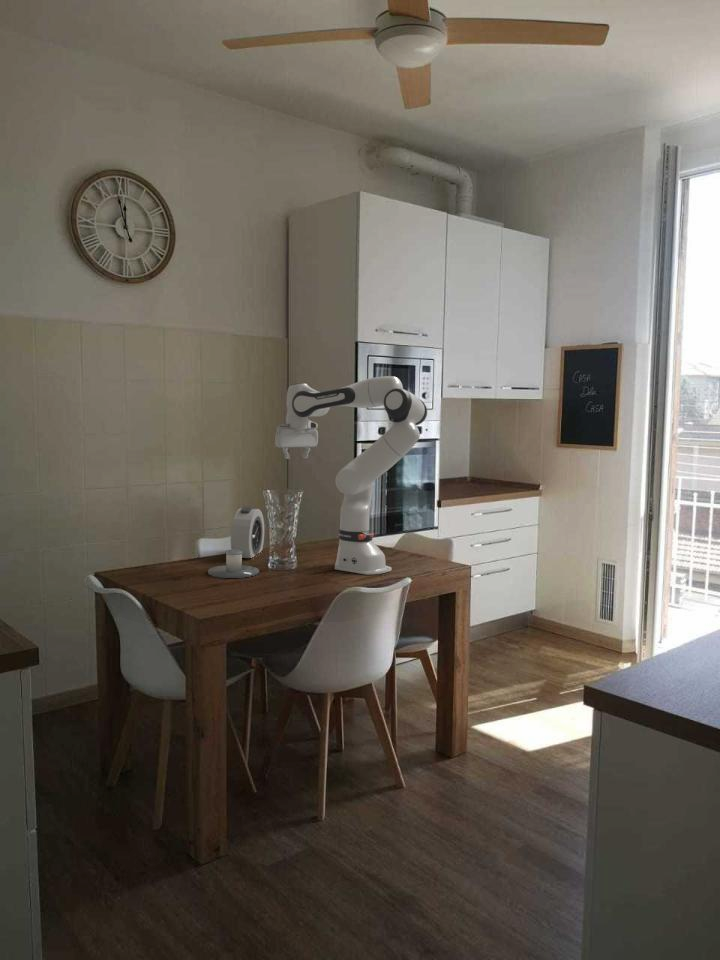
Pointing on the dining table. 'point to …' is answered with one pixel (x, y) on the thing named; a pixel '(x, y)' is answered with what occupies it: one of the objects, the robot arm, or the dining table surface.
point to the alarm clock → (248, 531)
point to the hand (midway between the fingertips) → (296, 458)
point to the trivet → (222, 573)
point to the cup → (233, 560)
